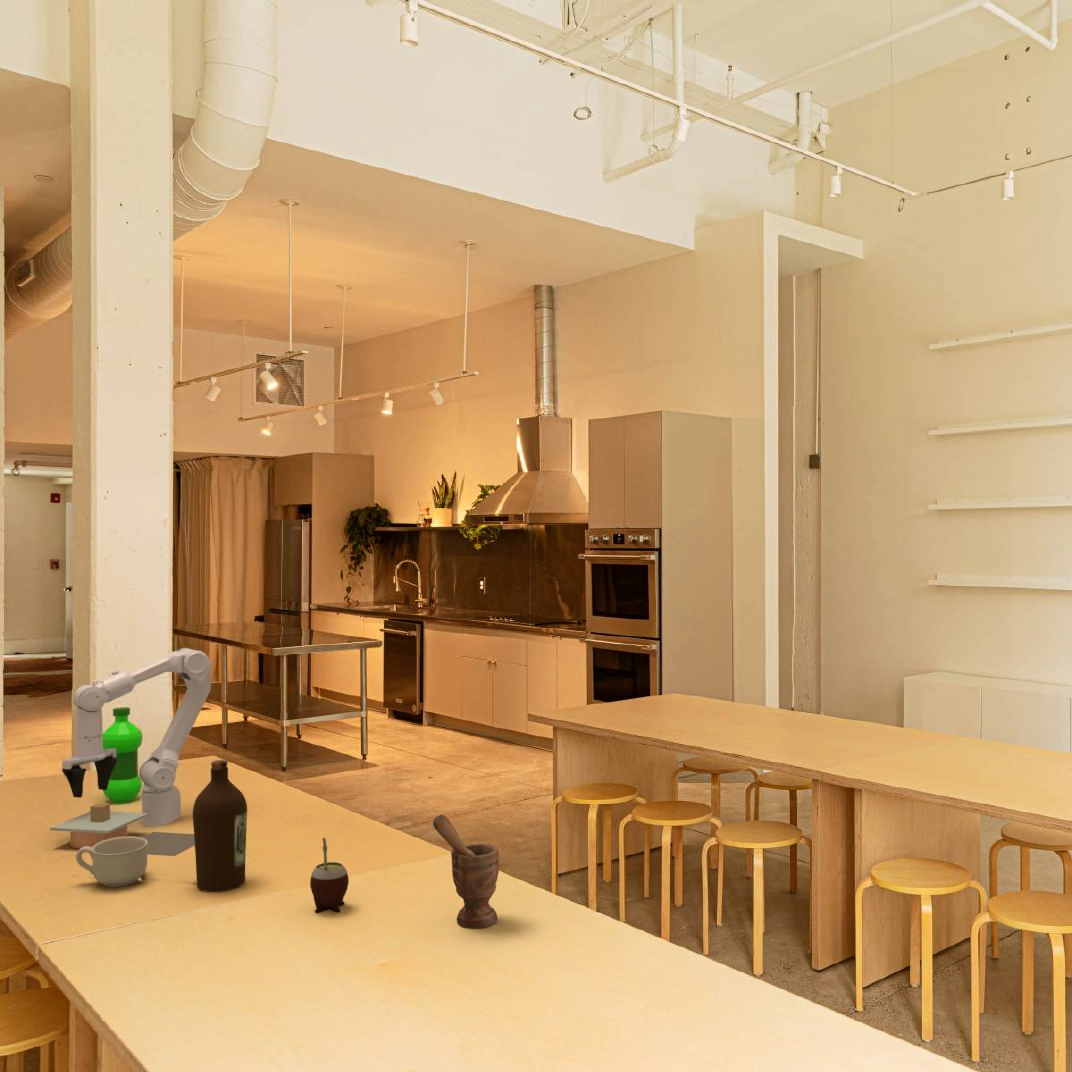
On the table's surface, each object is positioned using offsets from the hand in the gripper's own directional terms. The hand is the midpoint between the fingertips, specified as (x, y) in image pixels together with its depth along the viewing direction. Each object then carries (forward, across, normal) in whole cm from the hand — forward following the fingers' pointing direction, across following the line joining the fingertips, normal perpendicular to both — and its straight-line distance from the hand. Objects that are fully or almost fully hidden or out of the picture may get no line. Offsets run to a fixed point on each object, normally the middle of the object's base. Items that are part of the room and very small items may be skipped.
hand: (90, 793), depth 246 cm
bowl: (+10, -4, -7) cm, 13 cm away
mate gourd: (+11, -20, -82) cm, 85 cm away
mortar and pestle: (+11, -18, -110) cm, 112 cm away
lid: (+5, -4, -7) cm, 10 cm away
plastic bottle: (+11, +29, +19) cm, 36 cm away
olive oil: (+11, -16, -52) cm, 56 cm away
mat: (+10, 0, -22) cm, 25 cm away
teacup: (+11, -23, -30) cm, 40 cm away
